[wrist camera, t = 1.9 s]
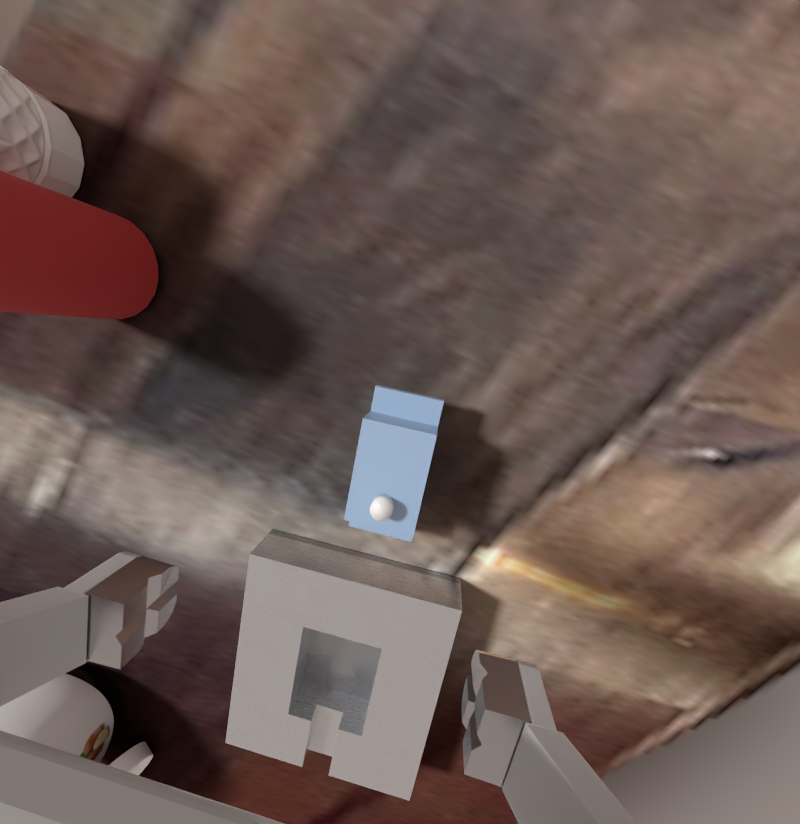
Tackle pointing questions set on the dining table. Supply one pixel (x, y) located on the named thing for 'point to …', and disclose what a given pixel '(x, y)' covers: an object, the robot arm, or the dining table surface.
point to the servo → (393, 462)
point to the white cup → (37, 139)
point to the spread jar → (73, 718)
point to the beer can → (70, 256)
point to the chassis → (341, 659)
